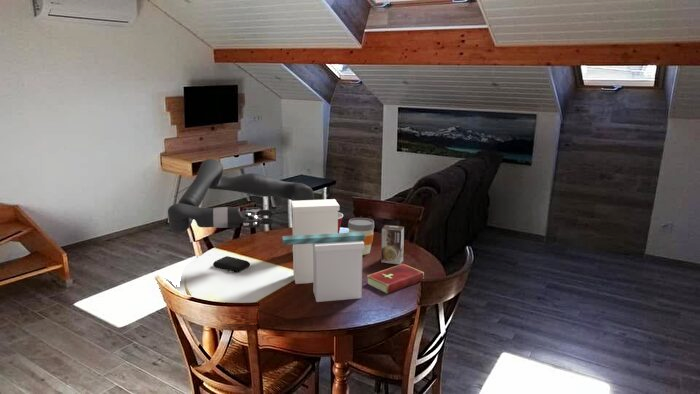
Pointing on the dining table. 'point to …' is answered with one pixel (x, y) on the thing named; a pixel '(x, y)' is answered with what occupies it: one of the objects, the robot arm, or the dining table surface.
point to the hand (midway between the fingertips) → (271, 216)
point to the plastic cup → (339, 220)
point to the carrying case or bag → (231, 264)
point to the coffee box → (392, 244)
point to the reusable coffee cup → (366, 228)
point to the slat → (323, 238)
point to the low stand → (337, 270)
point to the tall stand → (311, 232)
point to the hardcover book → (395, 278)
